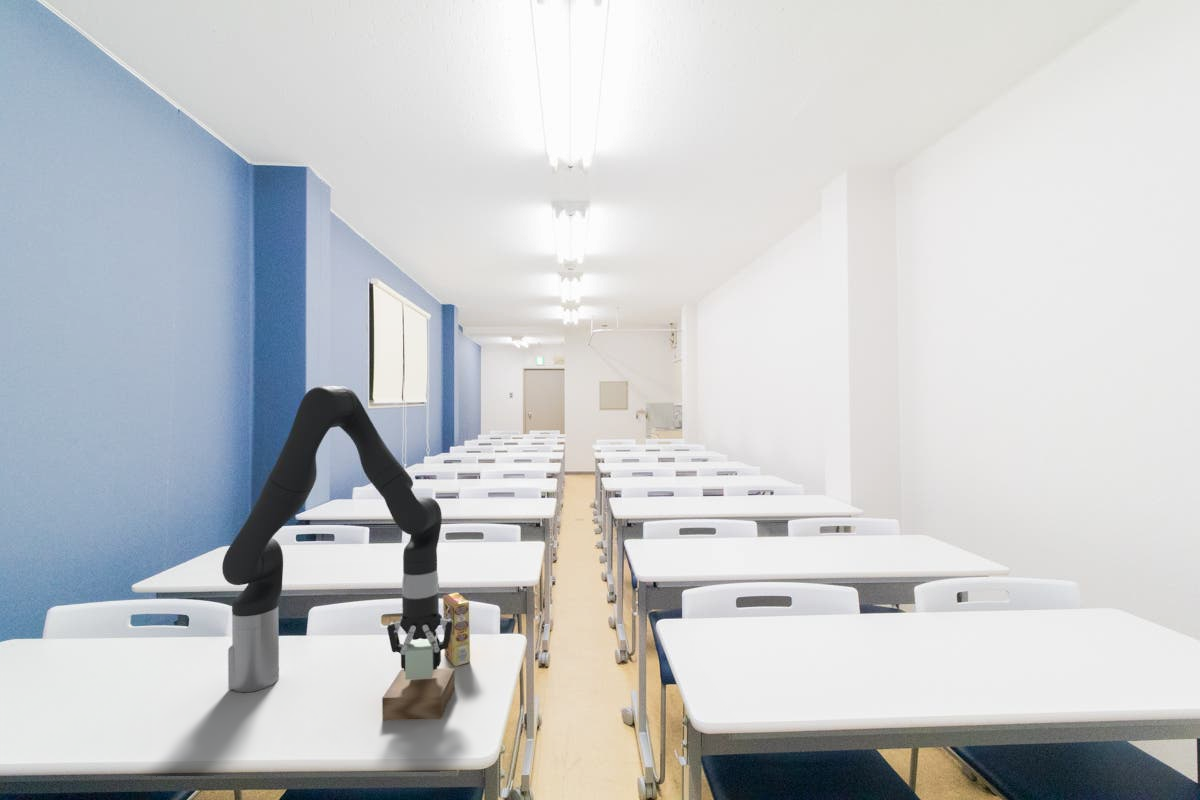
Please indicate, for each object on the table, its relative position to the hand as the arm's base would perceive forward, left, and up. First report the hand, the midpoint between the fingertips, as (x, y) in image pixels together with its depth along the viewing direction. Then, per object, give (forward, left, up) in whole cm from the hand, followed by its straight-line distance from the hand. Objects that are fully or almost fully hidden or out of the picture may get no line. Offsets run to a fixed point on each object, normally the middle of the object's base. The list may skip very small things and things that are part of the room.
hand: (421, 668), depth 122 cm
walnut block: (0, -1, -8) cm, 8 cm away
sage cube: (0, 0, -1) cm, 1 cm away
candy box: (+5, +20, -8) cm, 22 cm away
